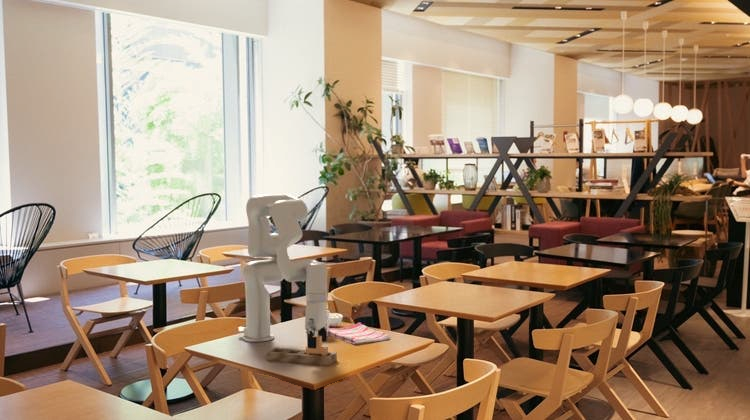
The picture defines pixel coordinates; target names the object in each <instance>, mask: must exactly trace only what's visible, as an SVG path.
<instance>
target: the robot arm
mask: <svg viewBox="0 0 750 420" xmlns="http://www.w3.org/2000/svg"><path fill="white" fill-rule="evenodd" d="M245 208H246V209H245V210H246V216H247V223H248V232H247V253H248V255H249V257H251V258H253V259H259V260H252V261H249V262H246V263H245V265H244V266H243V268H242V277H243V278H242V279H243V282H244V290H245V322H246V323H245V325H246V326H245V327H244V326H239V327H238V332H237V333H239V334H242V333H243V335H242V340H243V341H245V342H250V343H258V342H259V343H261V342H262V343H263V342H268V341H271V340H273V339H275V334H274V333H273V332H271V310H270V309H271V308H270V307H271V305H270V304H271V303H270V302H271V300H270V299H271V298H270V292H269V291H268V289H267V288H266V286H265V285H266V284H272V283H273V284H274V283H279V282H282V281H283V280H285V281H287V282H289V283H295V282H305V301H306V304H305V314H304V315H305V317H304V329H305V331H306V332H305V333H306V339H307V341H306V342H307V344H306V345H307V346H306V347H308V348H314V349H315V348H316V337H315V335H316V332H317V331H318V336H322V343H324V342H327V341H328V339H327V338H328V336H327V331H325V330H327V310H328V308H327V307H328V306H327V302H328V267H327V264H326V263H325V262H323V261H322V262H321V261H318V260H316V259H313V258H310V259H309V258H308V259H297V260H291V258H290V256H289V254H288V248H289V247H292V246H293V245H295V244H296V243H298V242H299V241H300V240H302V238H303V231H302V228H301V226H300V224H299V223H300V222H303V221H305V220H306V219H307V218H308V214H309V210H308V207H307V204H306V203H305V201H303V200H302V199H300V198H297V197H296V196H293V195H291V194H288V193H278V194H277V193H276V194H275V193H274V194H273V193H272V194H271V193H270V194H269V193H268V194H258V195H257V194H256V195H253V196H250V197H249V198H248V200H247V202H246V206H245ZM268 217H271V218H272V222H273V223H274V226H275V229H276V231H277V232H272V233H271V223H270V220H269V219H268ZM264 258H271V259H264ZM261 259H262V260H261ZM312 331H314V332H312Z"/></svg>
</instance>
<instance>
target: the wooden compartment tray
mask: <svg viewBox="0 0 750 420" xmlns="http://www.w3.org/2000/svg"><path fill="white" fill-rule="evenodd" d="M266 353H267V361H268V362H276V361H277V362H279V363H290V364H301V365H313V366H314V365H315V366H325V367H330V366H332V365H333V364H334V363H336V362H337V360H338V359H337V358H338V356H337V352H335V351H334V352H333V351H328V356H322V354H313V353H312V355H307V354H306V349H297V348H296V349H295V348H284V347H283V348H282V347H274V348H273V349H271V350H269V351H267V352H266Z"/></svg>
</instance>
